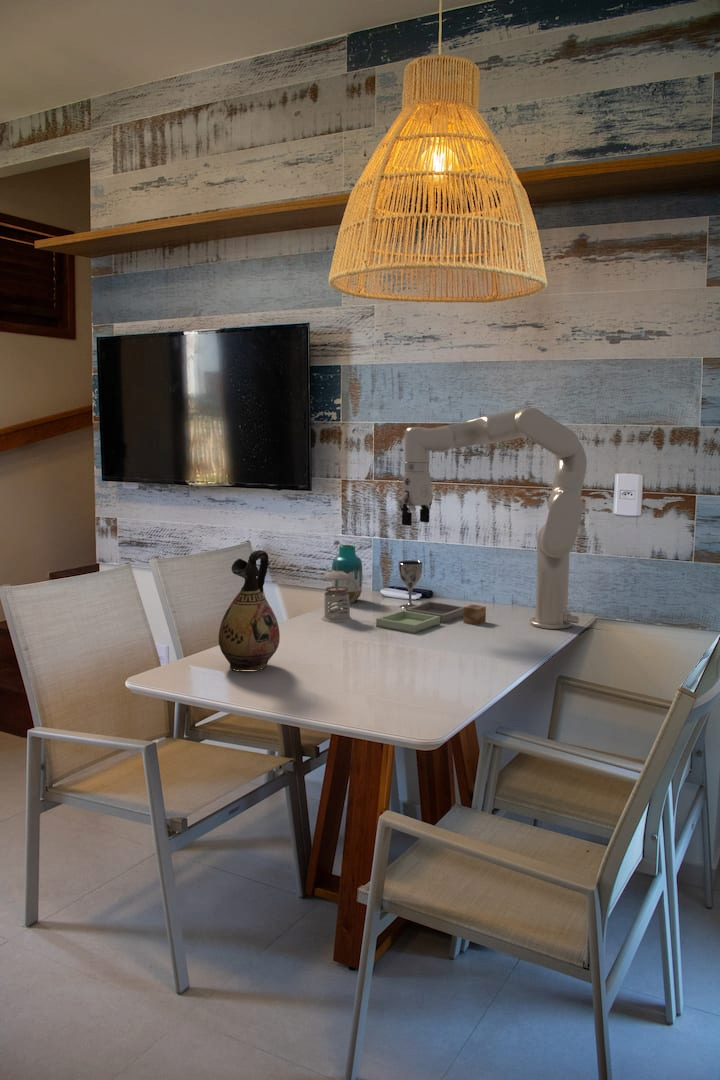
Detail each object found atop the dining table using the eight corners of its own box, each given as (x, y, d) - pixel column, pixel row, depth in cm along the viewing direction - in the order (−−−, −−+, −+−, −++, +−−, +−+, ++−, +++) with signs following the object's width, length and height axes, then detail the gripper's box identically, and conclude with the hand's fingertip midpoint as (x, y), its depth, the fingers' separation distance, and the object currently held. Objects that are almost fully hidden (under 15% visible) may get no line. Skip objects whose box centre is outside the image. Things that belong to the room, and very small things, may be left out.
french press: (317, 616, 277) (317, 538, 273) (352, 614, 280) (352, 537, 277) (325, 623, 268) (325, 543, 264) (361, 621, 271) (362, 541, 267)
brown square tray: (466, 614, 280) (466, 607, 279) (443, 623, 269) (443, 615, 268) (429, 608, 288) (429, 601, 288) (405, 616, 277) (405, 609, 276)
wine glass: (426, 605, 293) (426, 561, 290) (414, 610, 286) (415, 565, 284) (405, 602, 297) (405, 559, 295) (393, 607, 290) (394, 563, 288)
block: (485, 622, 270) (485, 606, 270) (477, 625, 266) (477, 609, 266) (471, 620, 273) (471, 604, 273) (463, 623, 269) (463, 607, 269)
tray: (439, 624, 267) (440, 616, 267) (414, 633, 256) (414, 625, 256) (402, 617, 275) (402, 610, 275) (376, 626, 264) (376, 618, 264)
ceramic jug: (255, 679, 212) (253, 558, 207) (206, 669, 220) (204, 552, 215) (295, 662, 226) (294, 549, 222) (248, 654, 234) (247, 544, 230)
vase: (368, 602, 298) (368, 546, 295) (341, 605, 292) (341, 549, 290) (352, 596, 307) (353, 542, 304) (326, 599, 302) (326, 544, 299)
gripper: (410, 470, 256) (409, 527, 258) (442, 467, 269) (441, 522, 272) (390, 468, 260) (389, 525, 263) (422, 466, 274) (421, 520, 277)
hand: (415, 523), depth 268 cm, fingers open, 9 cm apart
